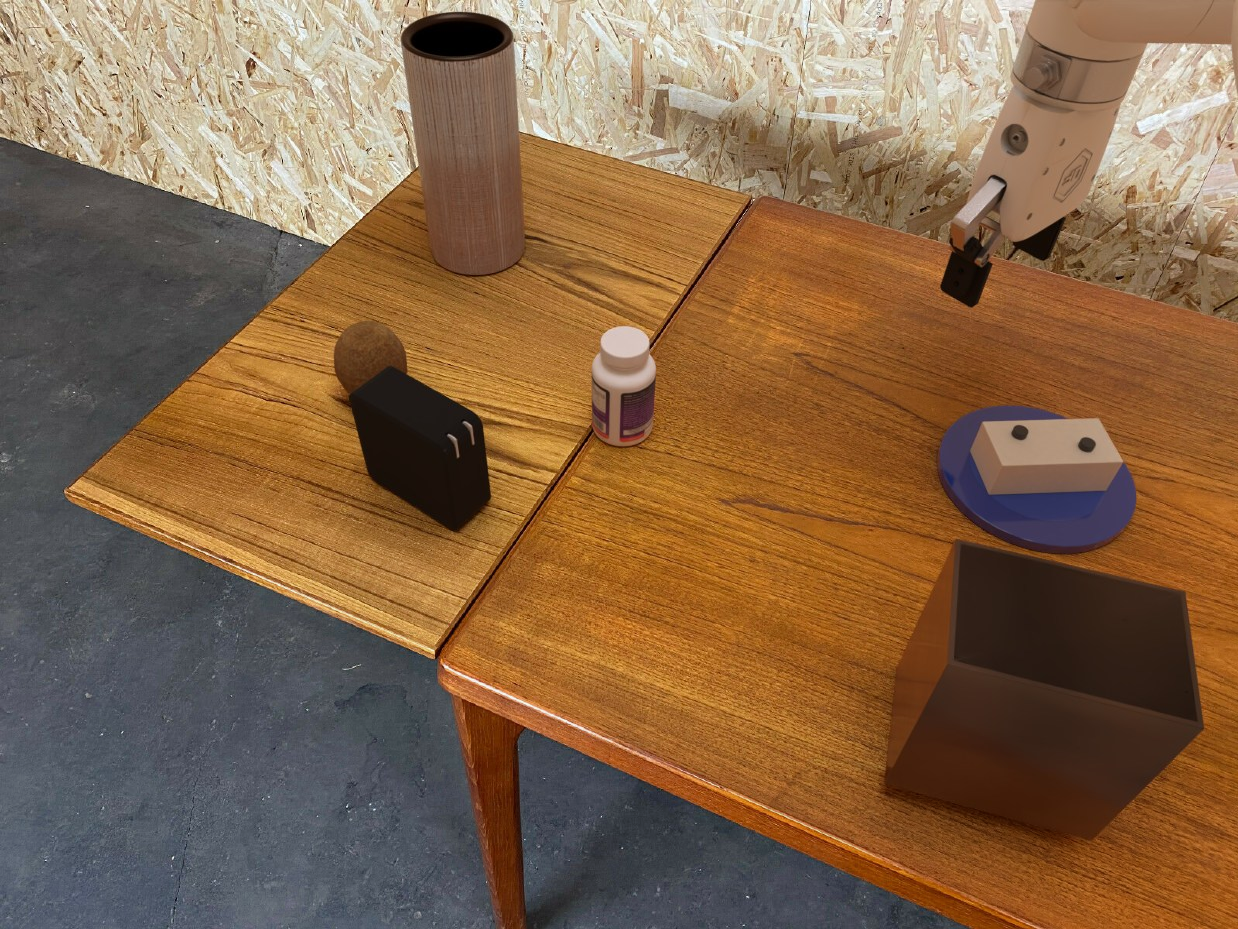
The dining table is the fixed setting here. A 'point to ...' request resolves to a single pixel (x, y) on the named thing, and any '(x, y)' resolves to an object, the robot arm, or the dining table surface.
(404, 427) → the electronic device
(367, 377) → the fruit
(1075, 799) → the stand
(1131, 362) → the dining table surface
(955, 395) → the dining table surface
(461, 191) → the planter
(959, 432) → the plate
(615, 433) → the pill bottle
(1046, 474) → the controller
